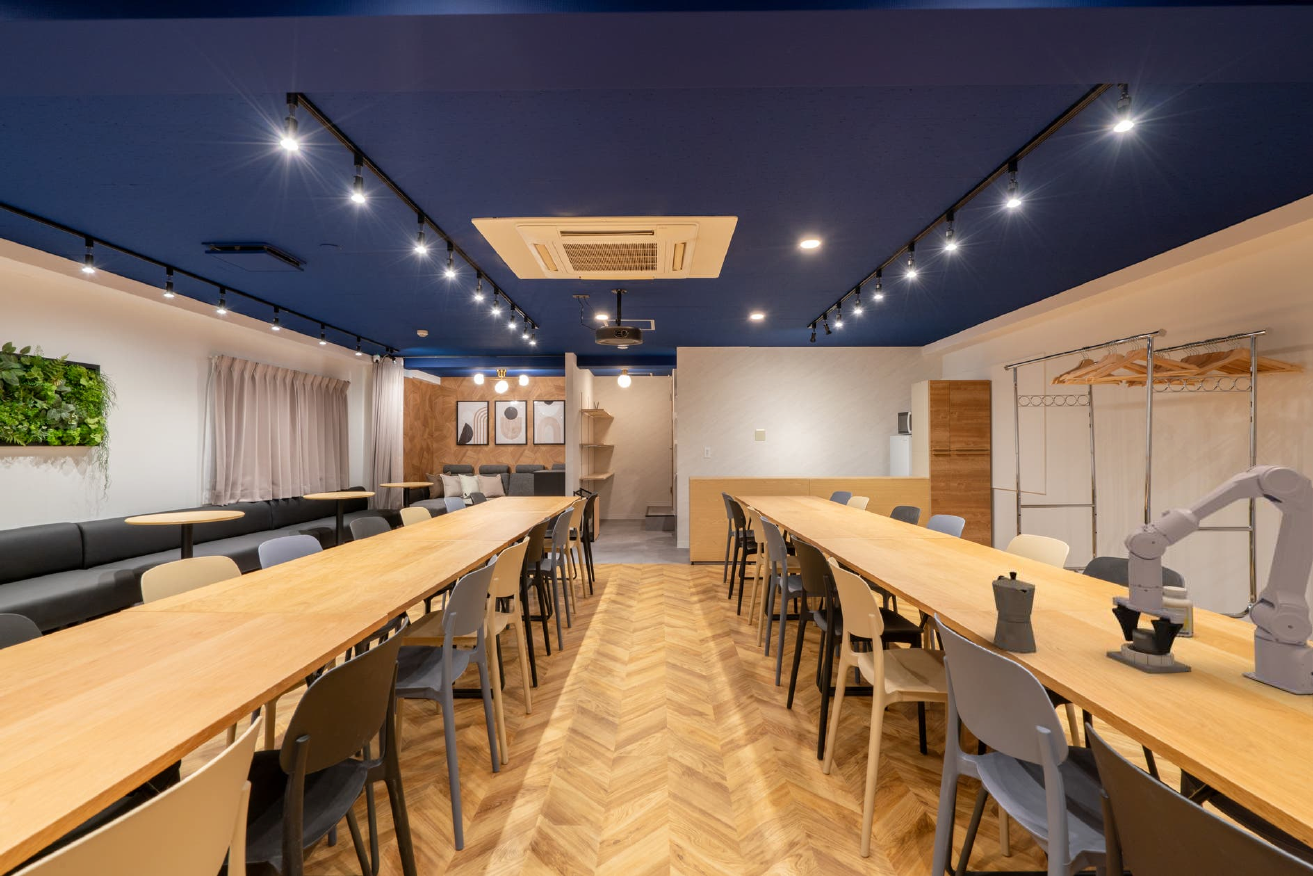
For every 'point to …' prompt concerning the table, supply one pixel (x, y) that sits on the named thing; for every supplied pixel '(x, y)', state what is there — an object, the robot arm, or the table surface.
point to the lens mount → (1148, 660)
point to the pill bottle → (1179, 607)
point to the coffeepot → (1014, 614)
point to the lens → (1145, 641)
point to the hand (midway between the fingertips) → (1146, 646)
